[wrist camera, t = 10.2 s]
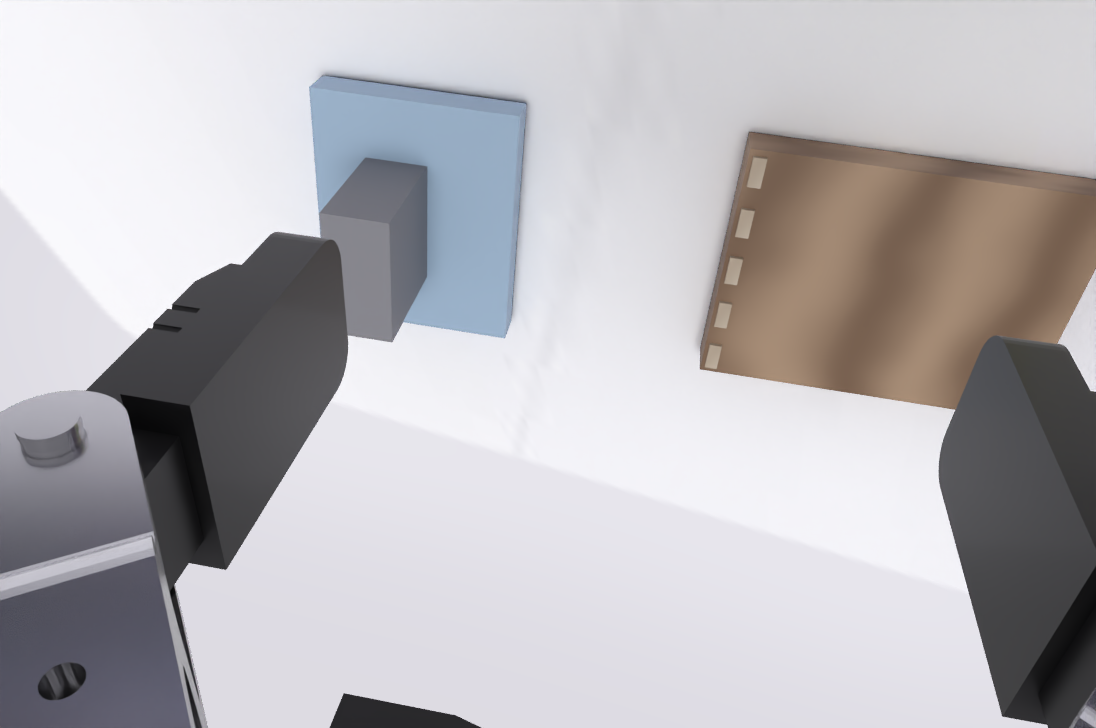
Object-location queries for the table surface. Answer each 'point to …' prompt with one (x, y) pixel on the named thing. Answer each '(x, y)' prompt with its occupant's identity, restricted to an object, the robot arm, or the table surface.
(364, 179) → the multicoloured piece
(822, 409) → the table surface
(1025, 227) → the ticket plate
